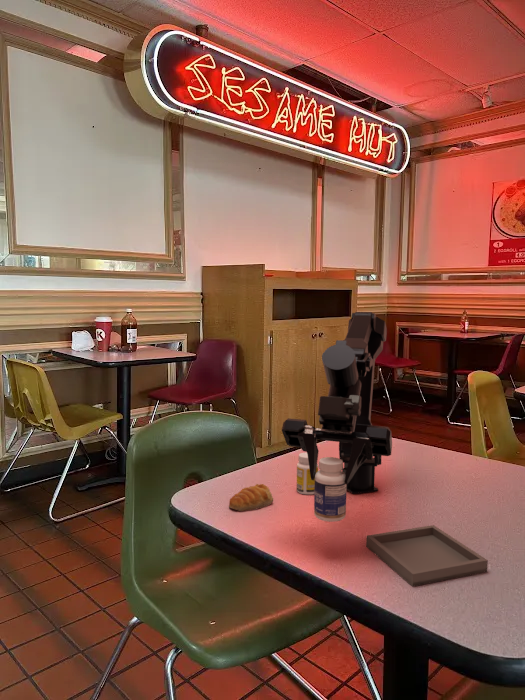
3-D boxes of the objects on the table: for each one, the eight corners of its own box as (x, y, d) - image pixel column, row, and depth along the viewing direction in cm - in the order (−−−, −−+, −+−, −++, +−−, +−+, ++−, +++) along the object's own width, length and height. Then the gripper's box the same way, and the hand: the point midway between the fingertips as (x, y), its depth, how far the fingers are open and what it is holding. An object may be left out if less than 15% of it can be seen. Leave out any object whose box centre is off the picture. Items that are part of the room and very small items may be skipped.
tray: (433, 535, 101) (433, 525, 101) (487, 572, 88) (487, 560, 88) (366, 546, 97) (366, 535, 96) (412, 586, 83) (413, 574, 83)
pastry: (242, 516, 110) (242, 498, 109) (221, 507, 114) (221, 489, 114) (275, 504, 116) (275, 487, 116) (254, 496, 121) (254, 479, 120)
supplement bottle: (319, 489, 125) (320, 453, 124) (315, 496, 120) (315, 459, 119) (299, 486, 126) (300, 450, 125) (293, 493, 122) (294, 456, 121)
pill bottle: (311, 510, 96) (312, 456, 94) (341, 509, 96) (342, 455, 95) (317, 523, 90) (318, 466, 89) (349, 522, 91) (350, 465, 90)
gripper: (285, 373, 97) (265, 452, 88) (392, 380, 91) (383, 464, 82) (296, 408, 106) (279, 482, 96) (395, 416, 100) (387, 496, 90)
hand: (329, 481), depth 91 cm, fingers closed on pill bottle, 5 cm apart
